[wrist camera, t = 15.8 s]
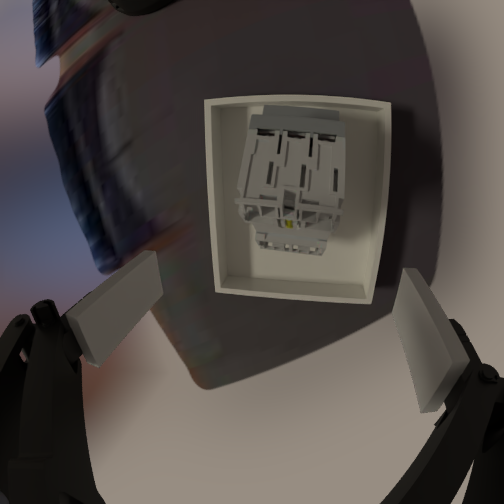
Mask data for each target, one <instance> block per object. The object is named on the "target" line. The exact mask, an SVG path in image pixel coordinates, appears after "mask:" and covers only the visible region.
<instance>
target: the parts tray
mask: <svg viewBox="0 0 504 504" xmlns="http://www.w3.org/2000/svg"><path fill="white" fill-rule="evenodd" d="M204 103H205V141H206V166H207V186H208V203H209V218H210V233H211V246H212V258H213V270H214V281H215V292H219V293H229V294H238V295H248V296H259V297H270V298H282V299H294V300H308V301H322V302H339V303H358V304H371V302H372V297H373V293H374V288H375V283H376V278H377V273H378V267H379V262H380V256H381V250H382V243H383V236H384V229H385V221H386V213H387V203H388V192H389V179H390V162H391V103H389V102H382V101H375V100H367V99H359V98H348V97H336V96H320V95H257V96H240V97H228V98H217V99H208V100H204ZM264 105H281V106H297V107H309V108H319V109H328V110H336V111H339V121H342V122H345V192H344V200H343V203H342V205H341V209H342V210H344V212H343V216H341V215H340V223H339V226H338V228H337V230H336V232H335V233H330V235H329V237H328V239H327V247H326V250H325V252H324V253H323V254H322V256H316V255H308V254H300V253H292V252H284V251H276V250H268V249H260V246H258V244H257V242H256V241H255V234H256V230H255V228H254V226H253V224H252V223H244V221H243V219H242V218H241V216H240V215H239V212H238V209H239V204H235V202H234V200H235V198H240V196H241V195H240V193H239V191H238V189H237V184H238V179H239V173H240V168H241V163H242V158H243V153H244V148H245V143H246V139H247V134H248V129H249V124H250V119H251V115H252V114H261V115H262V114H263V108H264ZM268 246H272V242H268ZM285 248H289V245H288V244H286V246H285ZM293 249H298V246H296V245H293ZM315 249H316V248H312V247H310V251H315Z"/></svg>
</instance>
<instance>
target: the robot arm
mask: <svg viewBox="0 0 504 504" xmlns="http://www.w3.org/2000/svg"><path fill="white" fill-rule="evenodd" d="M108 1H109V2H110V3H111V5H112V6H113V7H114V8H115V9H116V10H117V11H119V12H121V13H124V14H126V15H129V16H139V15H144V14H148V13H150V12H153V11H155V10H157V9H159V8H161V7H163V6H165V5H166V4H168V3H169V2H171V1H172V0H108ZM162 295H163V289H162V284H161V279H160V274H159V268H158V262H157V257H156V251H143V252H142V253H141V254H139V255H138V256H137V257H135V258H134V259H133V260H131V261H130V262H129V263H127V264H126V265H125V266H123V267H122V268H121V269H120V270H118V271H117V272H116V273H114V274H113V275H112V276H111V277H109V278H108V279H107V280H106V281H104V282H103V283H102V284H101V285H99V286H98V287H97V288H96V289H94V290H93V291H91V292H89V293H88V294H87V295H86V296H84V297H83V299H81V300H80V301H79V302H78V303H76V304H75V305H74V306H72V307H71V308H70V309H69V310H68V311H67V312H65V313H64V314H63V315H62V316H61V317H60V316H59V313H58V311H57V308H56V306H55V303H54V301H52V300H49V299H47V300H42V301H39V302H38V303H36V304H35V305H34V306H32V308H31V309H30V311H31V313H32V316H33V318H34V320H35V322H36V324H33V323H32V321H31V319H30V317H29V316H28V315H27V314H22V315H21V314H20V315H18V316H16V317H15V318H14V319H13V320H12V321H11V322H10V323H9V325H8V326H7V328H6V329H5V331H4V333H3V334H2V336H1V337H0V504H106V503H105V502H104V500H103V498H102V497H101V496H100V494H99V493H98V491H97V489H96V485H95V481H94V476H93V472H92V467H91V462H90V457H89V450H88V444H87V437H86V429H85V420H84V410H83V397H82V396H83V395H82V369H81V368H82V366H81V365H82V364H81V361H80V359H79V357H80V356H81V355H82V354H83V355H84V357H85V359H86V361H87V362H88V363H89V364H91V365H93V366H96V367H98V368H100V366H101V365H102V364H103V363H104V362H105V360H106V359H107V358H108V357H109V356H110V354H111V353H112V352H113V351H114V350H115V348H116V347H117V346H118V345H119V344H120V343H121V341H122V340H123V339H124V338H125V337H126V336H127V334H128V333H129V332H130V331H131V330H132V329H133V328H134V326H135V325H136V324H137V323H138V322H139V321H140V319H141V318H142V317H143V316H144V315H145V314H146V312H147V311H148V310H149V309H150V308H151V307H152V306H153V305H154V304H155V303H156V301H157V300H158V299H159V298H160V297H161V296H162ZM392 315H393V318H394V321H395V324H396V327H397V330H398V333H399V336H400V339H401V342H402V345H403V348H404V352H405V355H406V358H407V362H408V365H409V369H410V372H411V376H412V380H413V383H414V387H415V391H416V395H417V399H418V404H419V408H420V413H428V412H435V411H437V410H438V409H439V408H440V406H441V405H442V404H443V402H444V403H445V406H446V410H445V412H444V413H443V414H442V416H441V417H440V418H439V419H438V421H437V422H436V423H435V424H434V425H435V426H436V427H435V429H434V430H433V432H432V434H431V435H430V437H429V439H428V440H427V442H426V444H425V445H424V447H423V448H422V450H421V452H420V453H419V454H418V456H417V457H416V459H415V460H414V462H413V463H412V464H411V466H410V467H409V469H408V470H407V471H406V473H405V474H404V475H403V477H402V478H401V480H399V482H398V483H397V484H396V486H395V487H394V488H393V489H392V490H391V492H390V493H389V494H388V495H387V496H386V497H385V499H384V500H383V501H382V502H381V503H380V504H451V502H452V500H453V499H454V497H455V495H456V494H457V492H458V490H459V488H460V487H461V485H462V483H463V481H464V479H465V477H466V475H467V473H468V471H469V469H470V467H471V465H472V463H473V460H474V463H473V467H472V472H471V475H470V480H469V483H468V486H467V490H466V493H465V496H464V499H463V502H462V504H504V378H501V377H500V376H499V374H498V372H497V371H496V370H495V368H493V367H492V366H490V365H488V364H482V362H481V361H480V359H479V357H478V355H477V353H476V351H475V349H474V347H473V345H472V343H471V342H470V340H469V338H468V336H466V333H465V331H464V329H463V328H462V326H461V325H460V324H459V323H458V322H457V321H455V320H454V319H448V318H447V316H446V314H445V313H444V311H443V309H442V308H441V306H440V304H439V303H438V301H437V299H436V298H435V296H434V294H433V293H432V291H431V290H430V288H429V287H428V285H427V284H426V282H425V280H424V279H423V277H422V276H421V274H420V273H419V272H418V270H417V269H416V268H403V272H402V276H401V280H400V284H399V288H398V292H397V296H396V300H395V304H394V307H393V311H392ZM21 350H22V352H23V354H24V356H25V357H26V361H25V362H23V360H22V359H21V357H20V355H19V354H20V352H21Z"/></svg>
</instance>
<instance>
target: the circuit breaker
mask: <svg viewBox="0 0 504 504" xmlns="http://www.w3.org/2000/svg"><path fill="white" fill-rule="evenodd" d="M237 189H238V191H239V193H240V195H241V196H240V198H235V200H234V202H235V204H239V209H238V212H239V215H240V216H241V218H242V219H243V221H244V223H252V224H253V226H254V228H255V230H256V234H255V241H256V242H257V244H258V246H260V249H268V250H276V251H284V252H292V253H300V254H308V255H316V256H322V254H323V253H324V252H325V250H326V247H327V239H328V237H329V235H330V233H335V232H336V230H337V228H338V226H339V223H340V215H341V216H343V212H344V210H342V209H341V205H342V203H343V200H344V192H345V122H342V121H339V111H336V110H328V109H319V108H309V107H297V106H281V105H264V108H263V114H262V115H261V114H252V115H251V119H250V124H249V129H248V134H247V139H246V143H245V148H244V153H243V158H242V163H241V168H240V173H239V179H238V184H237ZM268 242H272V246H268ZM286 244H288V245H289V248H285V246H286ZM293 245H296V246H298V249H293ZM310 247H312V248H316V249H315V251H310Z"/></svg>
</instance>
